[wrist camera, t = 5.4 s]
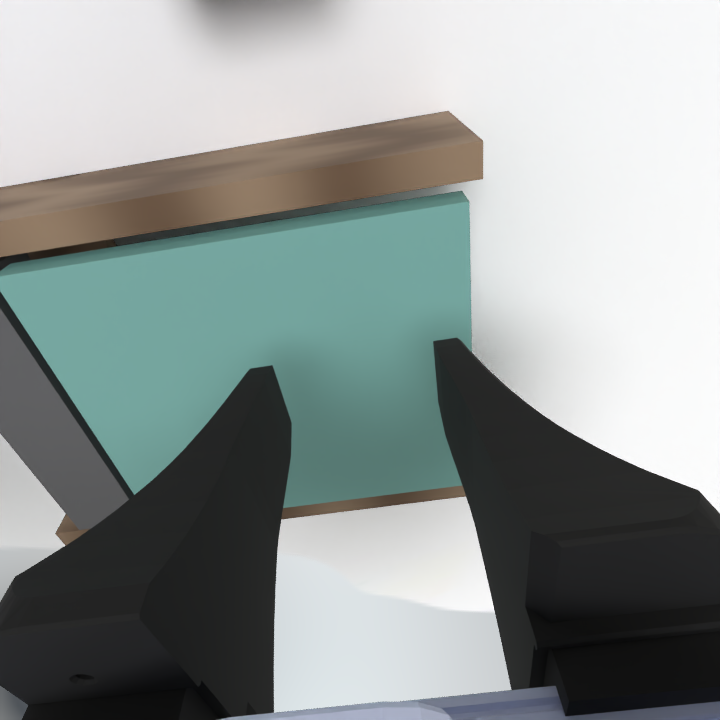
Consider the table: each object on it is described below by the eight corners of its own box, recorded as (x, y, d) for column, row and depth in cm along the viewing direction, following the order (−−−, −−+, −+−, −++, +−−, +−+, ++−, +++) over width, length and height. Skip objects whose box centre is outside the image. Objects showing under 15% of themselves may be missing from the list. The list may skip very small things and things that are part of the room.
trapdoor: (101, 487, 23) (77, 534, 21) (-61, 259, 16) (-120, 295, 14) (461, 439, 22) (473, 484, 20) (451, 176, 15) (469, 201, 13)
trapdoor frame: (107, 465, 27) (66, 546, 23) (-71, 199, 18) (-190, 252, 14) (459, 417, 25) (482, 494, 21) (448, 111, 17) (482, 140, 13)
